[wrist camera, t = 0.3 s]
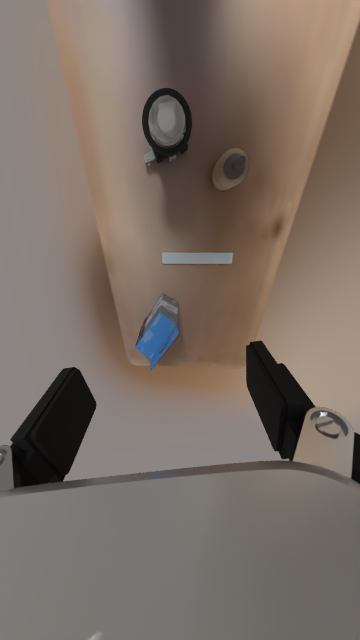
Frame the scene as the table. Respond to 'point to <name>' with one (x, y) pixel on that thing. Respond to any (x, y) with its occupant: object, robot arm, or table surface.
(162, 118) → the push button
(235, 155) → the awl
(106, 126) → the table surface
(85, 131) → the table surface
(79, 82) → the table surface
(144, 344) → the label tape cartridge
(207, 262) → the flat metal tool blade
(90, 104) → the table surface
